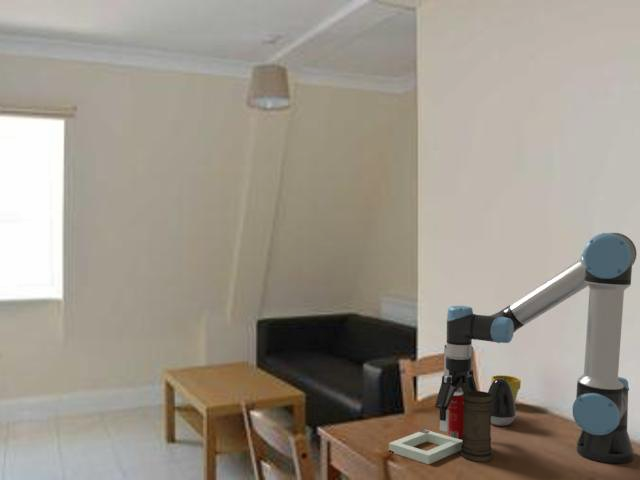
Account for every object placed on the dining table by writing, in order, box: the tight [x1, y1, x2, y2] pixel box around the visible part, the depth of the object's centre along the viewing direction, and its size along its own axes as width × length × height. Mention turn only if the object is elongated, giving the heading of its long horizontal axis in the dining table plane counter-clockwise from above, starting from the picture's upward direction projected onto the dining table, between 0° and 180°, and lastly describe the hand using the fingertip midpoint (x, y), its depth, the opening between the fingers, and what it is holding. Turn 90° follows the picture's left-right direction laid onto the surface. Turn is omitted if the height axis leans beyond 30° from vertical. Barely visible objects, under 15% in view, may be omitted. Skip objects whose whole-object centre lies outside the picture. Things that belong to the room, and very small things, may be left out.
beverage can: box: [447, 391, 464, 440], centre depth 202 cm, size 6×6×15 cm
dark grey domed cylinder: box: [487, 378, 517, 427], centre depth 221 cm, size 10×10×15 cm
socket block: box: [388, 429, 463, 465], centre depth 195 cm, size 14×18×3 cm
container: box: [460, 390, 493, 463], centre depth 190 cm, size 9×9×18 cm
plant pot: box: [490, 374, 521, 402], centre depth 244 cm, size 10×10×10 cm
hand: (456, 426), depth 203 cm, fingers open, 13 cm apart
